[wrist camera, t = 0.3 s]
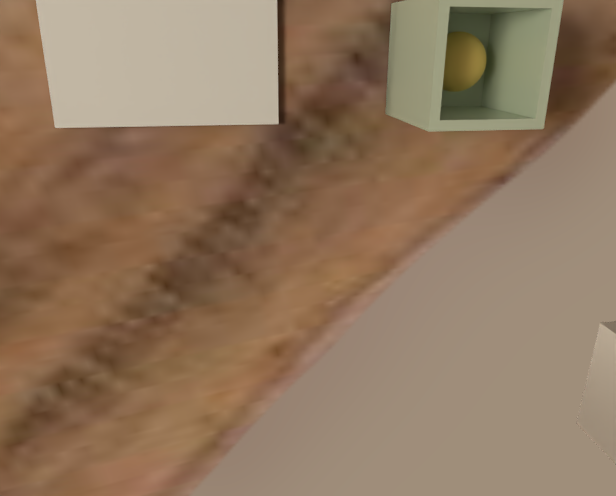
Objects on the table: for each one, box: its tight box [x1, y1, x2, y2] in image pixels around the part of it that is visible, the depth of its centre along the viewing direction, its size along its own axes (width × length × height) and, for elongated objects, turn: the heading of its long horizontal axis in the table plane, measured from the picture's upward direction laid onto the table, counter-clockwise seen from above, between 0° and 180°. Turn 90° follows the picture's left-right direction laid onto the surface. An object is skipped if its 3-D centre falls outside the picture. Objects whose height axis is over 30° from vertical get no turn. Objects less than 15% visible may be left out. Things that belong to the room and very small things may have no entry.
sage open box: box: [386, 0, 564, 131], centre depth 34 cm, size 7×7×8 cm
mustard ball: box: [442, 31, 486, 92], centre depth 35 cm, size 4×4×4 cm
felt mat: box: [36, 0, 279, 128], centre depth 33 cm, size 14×14×1 cm
